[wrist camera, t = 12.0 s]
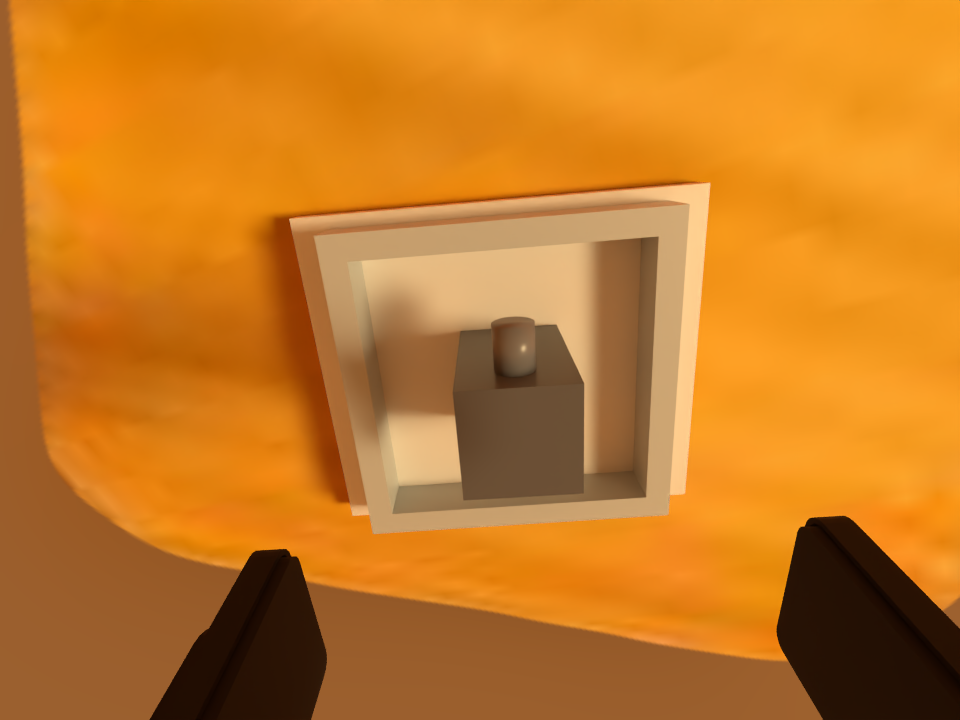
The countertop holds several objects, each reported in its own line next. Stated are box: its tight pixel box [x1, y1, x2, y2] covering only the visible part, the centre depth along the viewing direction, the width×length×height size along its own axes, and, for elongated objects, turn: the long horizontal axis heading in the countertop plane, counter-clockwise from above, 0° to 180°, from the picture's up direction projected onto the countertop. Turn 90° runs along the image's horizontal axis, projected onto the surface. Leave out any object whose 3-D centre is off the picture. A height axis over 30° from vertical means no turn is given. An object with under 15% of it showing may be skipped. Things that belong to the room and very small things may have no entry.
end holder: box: [289, 182, 710, 534], centre depth 21 cm, size 14×16×3 cm
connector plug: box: [453, 316, 584, 500], centre depth 18 cm, size 6×4×6 cm
